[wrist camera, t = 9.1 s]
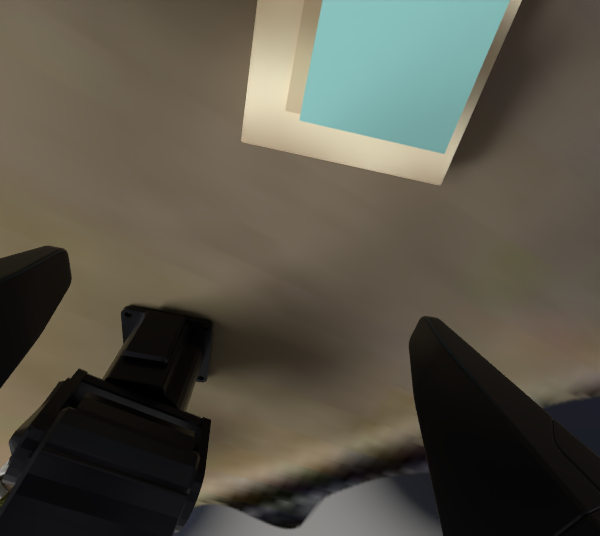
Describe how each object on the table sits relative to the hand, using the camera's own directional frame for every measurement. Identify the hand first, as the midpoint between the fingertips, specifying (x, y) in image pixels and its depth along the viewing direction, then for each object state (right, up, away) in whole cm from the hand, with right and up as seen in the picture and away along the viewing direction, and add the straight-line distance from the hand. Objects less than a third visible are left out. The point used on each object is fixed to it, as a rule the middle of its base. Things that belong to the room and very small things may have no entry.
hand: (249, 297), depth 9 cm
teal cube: (+4, +10, +6) cm, 12 cm away
